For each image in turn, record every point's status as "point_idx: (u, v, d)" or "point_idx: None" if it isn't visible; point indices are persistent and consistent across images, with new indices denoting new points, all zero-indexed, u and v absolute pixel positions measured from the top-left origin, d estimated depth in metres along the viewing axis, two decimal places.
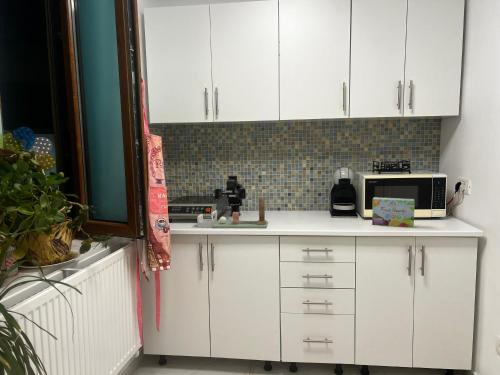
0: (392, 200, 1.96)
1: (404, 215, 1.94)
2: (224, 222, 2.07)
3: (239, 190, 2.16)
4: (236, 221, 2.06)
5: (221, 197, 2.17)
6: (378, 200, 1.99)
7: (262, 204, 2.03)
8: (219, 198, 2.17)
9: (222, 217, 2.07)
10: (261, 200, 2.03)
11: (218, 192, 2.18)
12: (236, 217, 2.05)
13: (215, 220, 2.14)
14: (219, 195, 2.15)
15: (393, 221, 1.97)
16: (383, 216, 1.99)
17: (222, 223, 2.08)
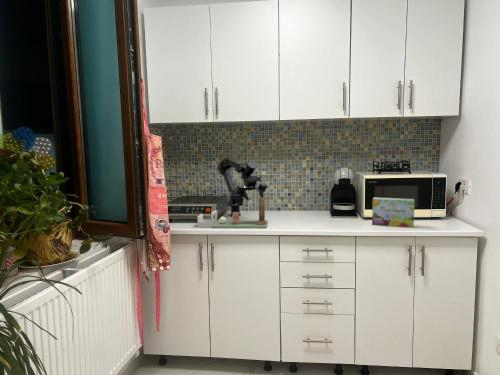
0: (392, 200, 1.96)
1: (404, 214, 1.94)
2: (224, 222, 2.07)
3: (262, 188, 2.15)
4: (236, 221, 2.06)
5: None
6: (378, 200, 1.99)
7: (262, 204, 2.03)
8: (242, 196, 2.14)
9: (222, 217, 2.07)
10: (261, 200, 2.03)
11: (241, 190, 2.12)
12: (236, 217, 2.05)
13: (215, 220, 2.14)
14: (245, 196, 2.11)
15: (393, 221, 1.97)
16: (383, 216, 1.99)
17: (222, 223, 2.08)
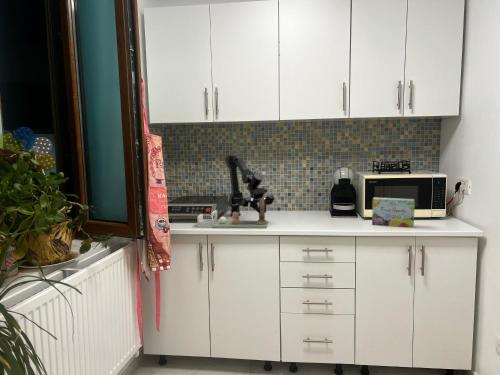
0: (392, 200, 1.96)
1: (404, 215, 1.94)
2: (224, 222, 2.07)
3: (265, 201, 2.07)
4: (236, 221, 2.06)
5: None
6: (378, 200, 1.99)
7: (262, 204, 2.03)
8: (253, 208, 2.07)
9: (222, 217, 2.07)
10: (261, 200, 2.03)
11: (253, 203, 2.05)
12: (236, 217, 2.05)
13: (215, 220, 2.14)
14: (256, 209, 2.05)
15: (393, 221, 1.97)
16: (383, 216, 1.99)
17: (222, 223, 2.08)
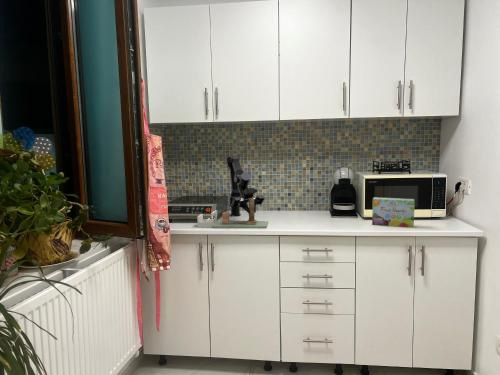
0: (392, 200, 1.96)
1: (404, 215, 1.94)
2: (206, 221, 2.08)
3: (255, 201, 2.08)
4: (226, 221, 2.06)
5: None
6: (378, 200, 1.99)
7: (252, 204, 2.04)
8: (243, 208, 2.08)
9: None
10: (251, 200, 2.04)
11: (242, 203, 2.06)
12: (226, 217, 2.06)
13: (215, 220, 2.14)
14: (246, 209, 2.06)
15: (393, 221, 1.97)
16: (383, 216, 1.99)
17: (207, 219, 2.08)
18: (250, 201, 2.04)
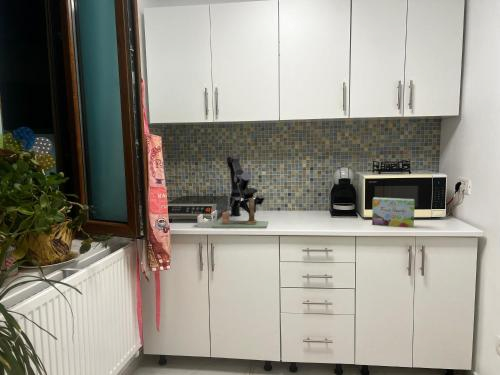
0: (392, 200, 1.96)
1: (404, 215, 1.94)
2: None
3: (255, 201, 2.08)
4: (226, 221, 2.06)
5: None
6: (378, 200, 1.99)
7: (252, 204, 2.04)
8: (243, 208, 2.08)
9: (207, 221, 2.09)
10: (251, 200, 2.04)
11: (242, 203, 2.06)
12: (226, 217, 2.06)
13: (215, 220, 2.14)
14: (246, 209, 2.06)
15: (393, 221, 1.97)
16: (383, 216, 1.99)
17: None
18: (250, 201, 2.04)
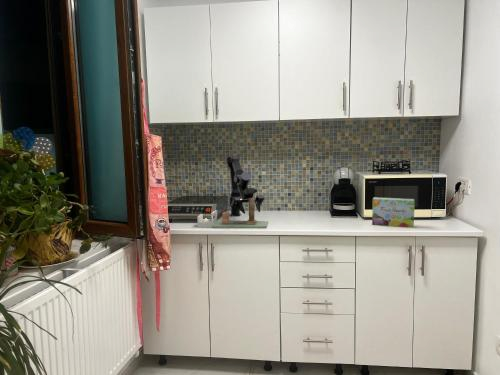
0: (392, 200, 1.96)
1: (404, 214, 1.94)
2: None
3: (259, 201, 2.09)
4: (226, 221, 2.06)
5: None
6: (378, 200, 1.99)
7: (252, 204, 2.04)
8: (238, 208, 2.07)
9: (208, 221, 2.09)
10: (251, 200, 2.04)
11: (238, 203, 2.05)
12: (226, 217, 2.06)
13: (215, 220, 2.14)
14: (241, 209, 2.04)
15: (393, 221, 1.97)
16: (383, 216, 1.99)
17: None
18: (250, 201, 2.04)
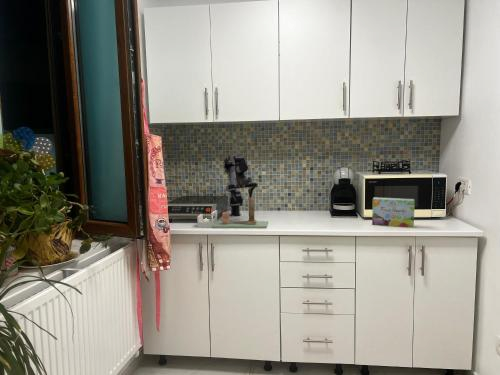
0: (392, 200, 1.96)
1: (404, 215, 1.94)
2: None
3: (252, 189, 2.21)
4: (226, 221, 2.06)
5: None
6: (378, 200, 1.99)
7: (252, 204, 2.04)
8: (231, 193, 2.21)
9: (208, 221, 2.09)
10: (251, 200, 2.04)
11: (231, 190, 2.17)
12: (226, 217, 2.06)
13: (215, 220, 2.14)
14: (233, 196, 2.19)
15: (393, 221, 1.97)
16: (383, 216, 1.99)
17: None
18: (250, 201, 2.04)
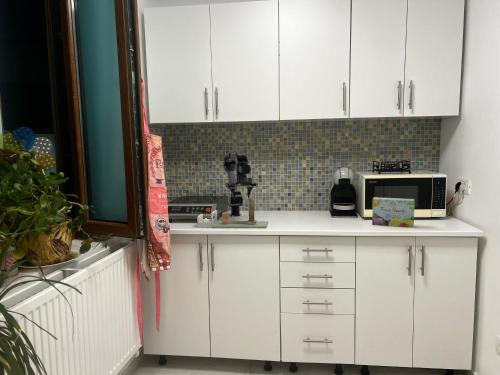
0: (392, 200, 1.96)
1: (404, 215, 1.94)
2: None
3: (251, 188, 2.24)
4: (226, 221, 2.06)
5: None
6: (378, 200, 1.99)
7: (252, 204, 2.04)
8: None
9: None
10: (251, 200, 2.04)
11: (231, 188, 2.20)
12: (226, 217, 2.06)
13: (215, 220, 2.14)
14: (232, 194, 2.22)
15: (393, 221, 1.97)
16: (383, 216, 1.99)
17: None
18: (250, 201, 2.04)
